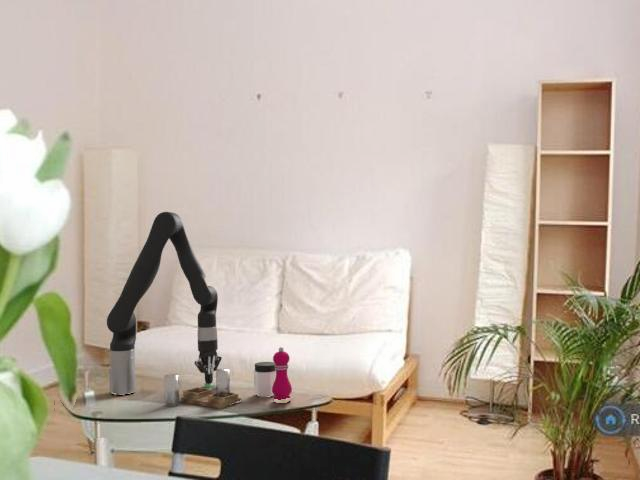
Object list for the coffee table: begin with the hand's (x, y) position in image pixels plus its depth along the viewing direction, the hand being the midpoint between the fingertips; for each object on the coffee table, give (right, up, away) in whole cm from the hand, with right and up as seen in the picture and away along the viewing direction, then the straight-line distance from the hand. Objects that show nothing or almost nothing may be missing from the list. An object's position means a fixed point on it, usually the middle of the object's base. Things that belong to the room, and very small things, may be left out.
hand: (208, 383), depth 275 cm
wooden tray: (+3, -4, -12) cm, 13 cm away
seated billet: (+8, -3, -16) cm, 18 cm away
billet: (-11, -5, -16) cm, 20 cm away
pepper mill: (+29, -4, -14) cm, 33 cm away
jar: (+22, -4, -3) cm, 23 cm away
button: (0, -3, 0) cm, 3 cm away
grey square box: (0, -4, 0) cm, 4 cm away
